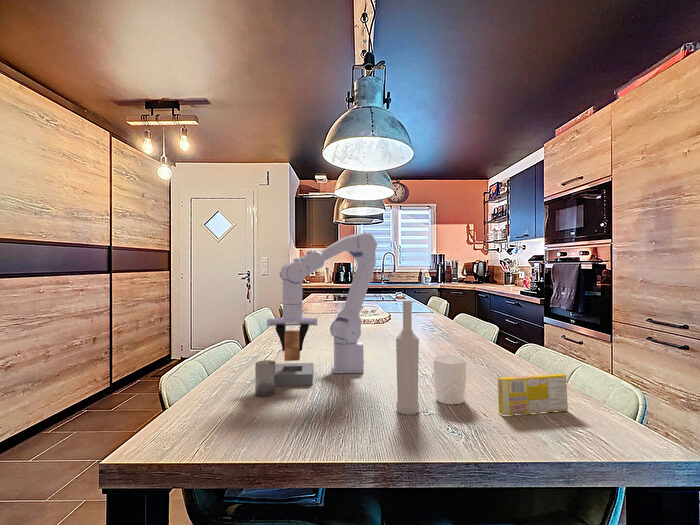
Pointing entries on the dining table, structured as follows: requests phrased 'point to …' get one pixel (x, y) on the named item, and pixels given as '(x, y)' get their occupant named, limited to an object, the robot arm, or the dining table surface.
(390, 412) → the dining table surface
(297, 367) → the bore block
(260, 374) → the round dowel
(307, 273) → the robot arm
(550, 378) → the candy box
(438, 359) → the white cup
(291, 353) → the square peg
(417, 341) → the bottle
